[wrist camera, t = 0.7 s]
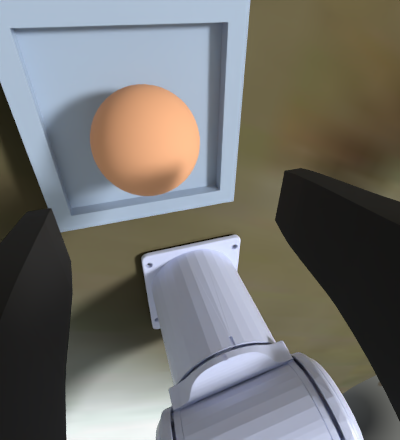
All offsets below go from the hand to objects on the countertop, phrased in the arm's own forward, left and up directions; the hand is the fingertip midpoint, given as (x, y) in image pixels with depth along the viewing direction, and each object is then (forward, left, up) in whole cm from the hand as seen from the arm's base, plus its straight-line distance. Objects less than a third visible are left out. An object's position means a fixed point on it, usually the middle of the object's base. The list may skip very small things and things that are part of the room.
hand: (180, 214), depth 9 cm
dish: (0, 0, -10) cm, 10 cm away
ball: (0, 0, -9) cm, 9 cm away
